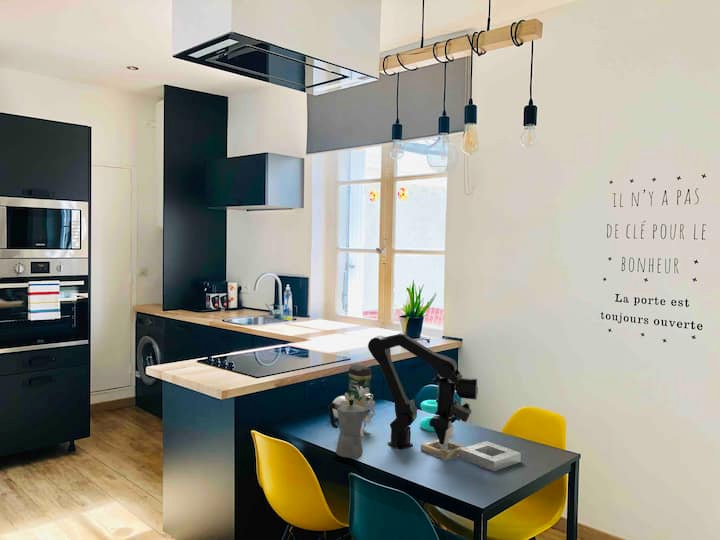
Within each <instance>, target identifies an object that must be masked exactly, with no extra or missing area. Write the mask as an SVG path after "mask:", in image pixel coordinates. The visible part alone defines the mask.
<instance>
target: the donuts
mask: <svg viewBox="0 0 720 540" xmlns="http://www.w3.org/2000/svg"><path fill="white" fill-rule="evenodd" d="M420 409H421V410H422V411H423V412H425V413H428V414H432V415H434V414H435V413H436V411H437V402H436V399H427V400H423V401H422V402H421V403H420ZM435 415H436V414H435ZM433 417H434V416H426V417H423V418H421V420H420V421H419V426H420V428H421V429H423V430H424V431H429V432H435V430H434V428H433V427H431V426H430V420H431V419H432V418H433Z"/></svg>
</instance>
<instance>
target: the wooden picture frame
mask: <svg viewBox="0 0 720 540" xmlns="http://www.w3.org/2000/svg"><path fill="white" fill-rule="evenodd" d="M465 447H466V446H465V445H462V444H460V443H457V442H453V441H450V440H449V443H448V450H447V451H442V450H440V442H439V439H436V440H432V441H428V442H425V443H421V444H420V450H421V451H422V452H424V453H427V454H429V455H431V456H434V457H437V458H440V459H442V460H444V461H446V460H450V459H453V458H455V457H458V456H459V457H460V449H461V448H465Z"/></svg>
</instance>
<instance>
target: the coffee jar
mask: <svg viewBox="0 0 720 540" xmlns="http://www.w3.org/2000/svg"><path fill="white" fill-rule="evenodd" d="M371 379H372V369H371V367H370V366H369V367H368V366H365V365H362V364H350V366H349V368H348V392H347V393H348V395H349V397H351V395H354V398H355V399H357V400H358V398H359V396H360V395H359V392H358V390H357V388H356V386H358V388H359V390H360V386H362V387H363V389H364V392H368V393H370V394H371V390H370V389H371V387H370V386H371ZM355 385H356V386H355ZM364 392H363V393H364ZM367 396H370V397H371V395H367ZM361 398H362V397H360V399H359V401H360V400H361ZM370 399H371V398H368V397H366V401H365V403H364V404H365V405H367V404H368V402H369V401H370Z"/></svg>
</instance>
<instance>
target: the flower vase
mask: <svg viewBox="0 0 720 540" xmlns="http://www.w3.org/2000/svg"><path fill="white" fill-rule="evenodd" d="M355 386H356V385H355ZM356 388H357V390H358V392H359V395H360V396H359V398H358V400H357V399H355V398H354V395H351V397H349V395H348V392H345V393H344V395H340V396H337V397H336V398H334V400H332V403H335V404H341V405H349V400H350V399H352V400H354V401H353V405H358V406H361V407H364V408H365V409H364V410H367V411H369V410H370V412H371V413H370V414H367V416H366V417H365V418H364V420H363V428H362V427H361V430H360V434H361V437H365V434H367V435H370V434H371V433H370V432H369V431H367V430H366V425H369V424H370V423H371V420H372V419H371V418H373V417H374V416H375V415H376V411H375V408H374V407H375V406H376V401H375V400H374V394H373V393H371V392H370V393H368V392H364V389H363V387H362V386H360V390H359V388H358V386H356ZM363 392H364V393H363ZM367 395H370V396H367ZM360 397H362V398H361V400H360V401H359V399H360ZM366 397H368V398H370V401H369V402H368V404H367V405H365V404H364V403H365V401H366ZM333 415H334V418H337V419H338V411H337V410H336V409H333Z"/></svg>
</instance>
